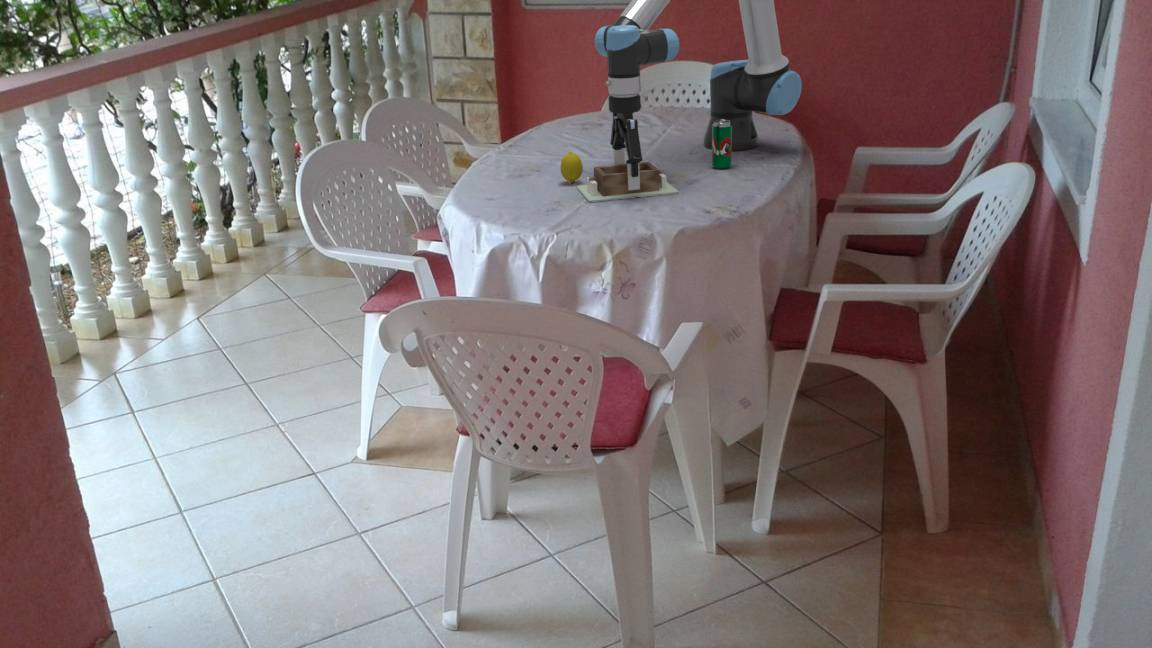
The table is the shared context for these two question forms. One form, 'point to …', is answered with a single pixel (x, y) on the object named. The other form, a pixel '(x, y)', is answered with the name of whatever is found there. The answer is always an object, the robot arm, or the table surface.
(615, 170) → the brown wooden open box
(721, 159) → the soda can
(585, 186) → the wall board
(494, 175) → the table surface
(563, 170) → the lemon
